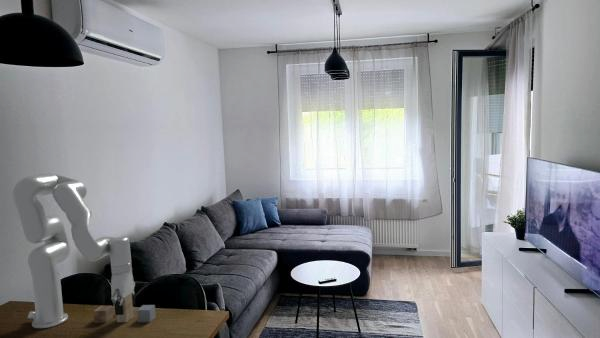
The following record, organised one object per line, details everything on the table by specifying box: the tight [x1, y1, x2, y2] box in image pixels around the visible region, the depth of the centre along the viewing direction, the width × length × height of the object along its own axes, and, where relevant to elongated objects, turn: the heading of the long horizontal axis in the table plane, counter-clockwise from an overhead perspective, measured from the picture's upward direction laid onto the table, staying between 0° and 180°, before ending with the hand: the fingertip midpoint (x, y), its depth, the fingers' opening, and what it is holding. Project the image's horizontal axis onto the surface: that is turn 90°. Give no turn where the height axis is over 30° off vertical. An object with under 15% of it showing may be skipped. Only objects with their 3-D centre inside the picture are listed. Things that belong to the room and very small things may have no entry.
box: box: [116, 291, 134, 323], centre depth 167 cm, size 5×4×11 cm
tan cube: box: [93, 305, 114, 324], centre depth 168 cm, size 5×5×5 cm
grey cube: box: [137, 304, 157, 323], centre depth 167 cm, size 5×5×5 cm
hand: (125, 309), depth 167 cm, fingers open, 9 cm apart
